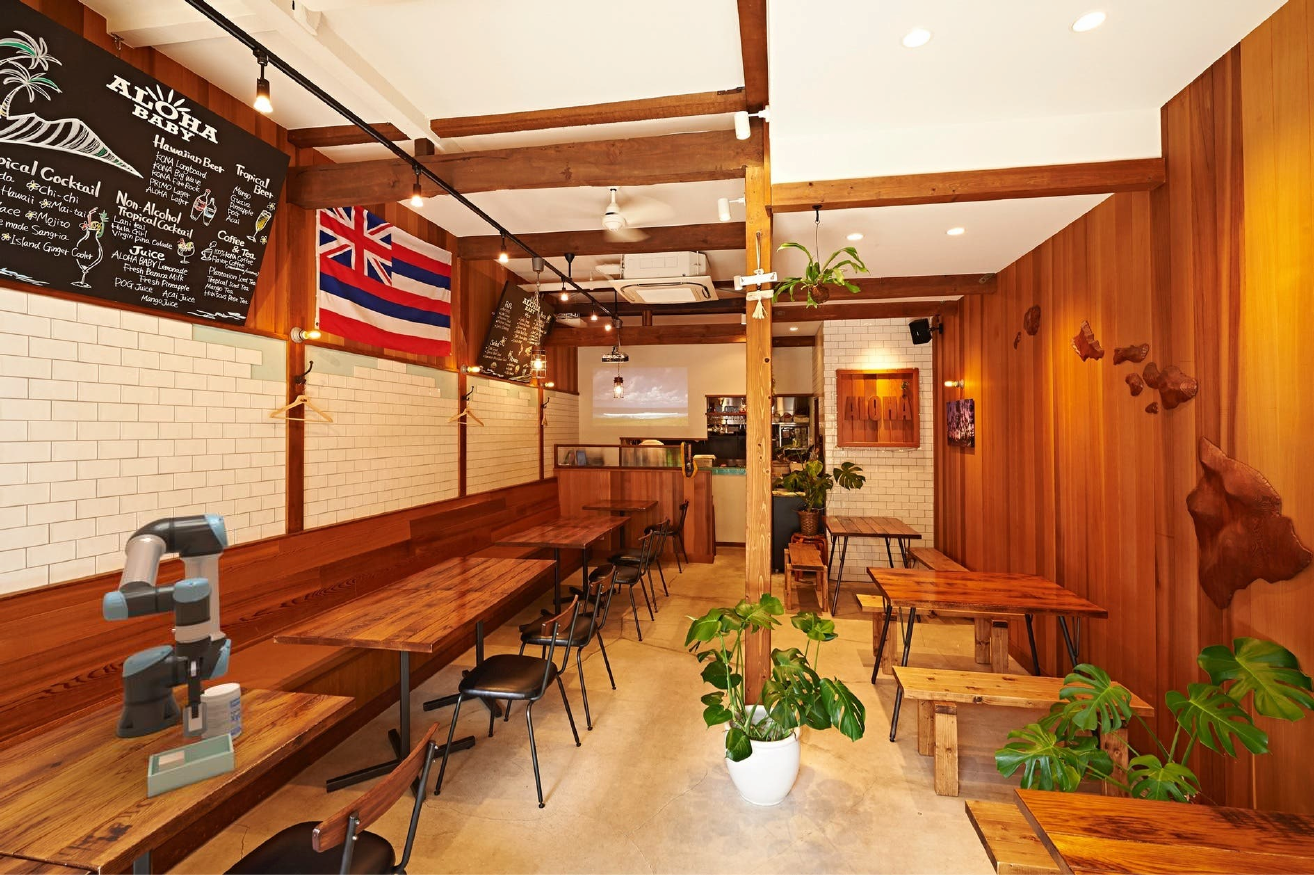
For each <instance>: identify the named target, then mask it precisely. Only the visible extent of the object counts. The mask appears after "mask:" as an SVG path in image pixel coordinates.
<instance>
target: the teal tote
mask: <svg viewBox="0 0 1314 875" xmlns="http://www.w3.org/2000/svg"><path fill="white" fill-rule="evenodd" d="M183 750H184V758H185V765H184V766H181V767H177V768H174V769H171V770H167V771H164V772H161V773H159V758H160V757H161V756H165V755H169V754H172V753H176V752H179V751H183ZM234 755H235V750H234V746H233V740H232V739H231V733H229V734H225V735H222V736H218V737H215V738H211V739H208V740H204V741H202V740H201V741H197V742H195V743H191V744H186V745H183V746H181V747H177V748H173V749H169V750H166V751H162V752H159V753H155V754H151V755H150V756H149V760H148V761H149V762H148V769H147V770H148V771H147V797H148V798H152V797H154V796H158V795H160V794H163V793H164V794H165V793H167V792H169V791H172V790H173V791H174V790H176V789H180V788H183V787H186V786H189V785H192V784H195V783H198V782H202V781H205V780H209V779H211V778H214V777H217V776H220V775H223V774H226V773H229V772H233V771H235V756H234Z"/></svg>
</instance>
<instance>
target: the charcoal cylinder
mask: <svg viewBox="0 0 1314 875" xmlns="http://www.w3.org/2000/svg"><path fill="white" fill-rule="evenodd" d="M201 705H202V728H201V729H197V730H193V731H190V732H189V720H188V707H187V708H185V706H184V707H183V708H182V732H183V733H182V734H183V738H187V739H188V738H195V737H198V736H202V734H203V733H205V732H206V731H207V730H208V727H207V703H206V702H201Z"/></svg>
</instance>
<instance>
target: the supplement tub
mask: <svg viewBox="0 0 1314 875" xmlns="http://www.w3.org/2000/svg"><path fill="white" fill-rule="evenodd" d="M241 696H242V694H241V685H240V684H239V683H235V682H231V683H224V684H219V685H215V686H212V687H209V688H208V689H205V694H202V702H206V703H207V727H208V730H207V731H206V732H205V733H203V734H201V741H204V740H208V739H211V738H215V737H218V736H222V735H225V734H229V733H231V739H232V741H234V740H235V739H237V738H238V737H240V735H241V734H242V733H243V732H242V725H243V724H242V697H241Z"/></svg>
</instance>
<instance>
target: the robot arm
mask: <svg viewBox="0 0 1314 875" xmlns="http://www.w3.org/2000/svg"><path fill="white" fill-rule="evenodd" d="M226 529H227V528H226V525H225V520H224V517H223V516H222V515H221V514H219V513H218V514H215V513H211V514H196V515H186V516H176V517H163V518H159V519H156V520H153V521H150V522H149V523H146V524H145V525H143V526H142V527H140V528H139V529H137V530H136V531H135V532H133V534H132V535H130V537H128V540H127V541H126V544H125V547H124V553H125V556H126V559H125V563H124V567H123V571H122V574H121V579H120V581H119V586H118V588H117V590H114V591H111V592H107V593H105V594H104V596H103V600H102V614H103V617H104V620H106V621H110V622H111V621H118V620H119V621H120V620H123V621H124V620H127V619H133V618H141V617H145V616H151V615H157V614H165V613H166V614H167V613H172V612H173V613H174V628H173V629H171V633H173V634H174V639H175V643H174V648H173V647H172V645H170V644H169V645H168V644H166V645H159V646H155V647H150V648H147V649H145V650H142V651H139V652H137V653H134V654H133V655H131V656H129V657H127V659H125V661H124V663H123V664H122V665H123V666H122V667H123V669H122V670H123V671H122V674H121V677H122V678H123V680H122V682H123V684H122V685H123V708H122V712H121V714H120V717H119V719H118V722H117V725H116V736H117V737H120V738H134V737H140V736H141V737H142V736H145V735H149V734H153V733H156V732H158V731H161V730H165V729H167V728H168V727H171V726H173V725H175V724H176V723H178V722H179V721H180V720H181V718H182V711H181V708H180V706H179V703H178V701H177V699H176V698H175V696H174V688H177V687H181V686H184V685H185V686H186V685H187V701H188V703H187V704H185V705H184V707H185V708H187V707H188V720H189V732H190V731H193V730H197V729H201V728H202V705H201V702H202V694H205V690H206V689H205V690H202V682H204V681H211V680H212V679H216V678H220V677H224V676H225V675H226V674H227V672H228V668H229V660H230V654H231V644H232V639H230V638H227V637H226V633H224V632H223V631H221V629H220V628H221V627H220V626H221V624H220V621H221V620H220V595H219V594H220V590H219V589H220V588H219V587H220V586H219V584H220V583H219V558H220V557H221V556H222V555H223V554H224V549H226V548H228V547H229V541H228V535H227V530H226ZM167 554H168V555H169V554H178V560H181V561H182V562H183V563H184V570H185V571H184V574H185V576H184V578H185V579H183V580H180V581H177V582H176V583H175V582H174V583H169V584H162V585H156V583H157V578H158V572H159V567H160V563H161V562H160V561H161V558H162V557H163V556H164V555H167Z"/></svg>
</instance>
